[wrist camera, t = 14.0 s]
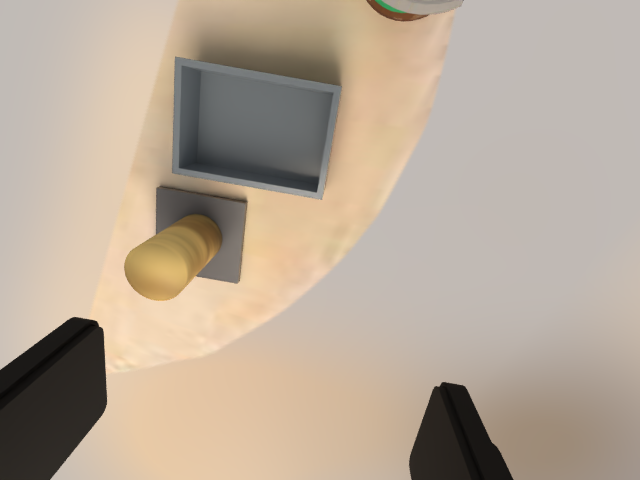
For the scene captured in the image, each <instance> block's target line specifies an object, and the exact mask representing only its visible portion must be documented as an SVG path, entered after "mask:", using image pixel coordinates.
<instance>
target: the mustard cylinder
mask: <svg viewBox="0 0 640 480" xmlns="http://www.w3.org/2000/svg"><path fill="white" fill-rule="evenodd" d="M221 245H222V234H221V231H220V229H219V227H218V225H217V224H216V223H215V222H214V221H213V220H212V219H210V218H209V217H207V216H204V215H201V214H191V215H188V216H185V217H184V218H182V219H180V220H179V221H177V222H176V223H174V224H172V225H171V226H169V227H168V228H166V229H164V230H163V231H161V232H160V233H158V234H156V235H155V236H153V237H152V238H150V239H148V240H147V241H145V242H144V243H142V244H140V245H139V246H137V247H136V248H134V249H133V250H132V251H130V253H129V254H128V255H127V257H126V260H125V265H124V269H125V275H126V278H127V280H128V282H129V283H130V285H131V286H132V287H133V289H134V290H135V291H137V292H138V293H139V294H141V295H142V296H144V297H146V298H148V299H151V300H156V301H165V300H170V299H172V298H174V297H176V296H177V295H178V294H179V293H180V292H181V291H182V290H183V289H184V288H185V287H186V286H187V285H188V284H189V283H190V282H191V280H192V279H193V278H194V277H195V276H196V275H197V274H198V273H199V272H200V271H201V270H202V269H203V268H204V267H205V265H206V264H207V263H208V262H209V261H210V260H211V259H212V258H213V257H214V256H215V255H216V254H217V253H218V251H219V250H220V248H221Z"/></svg>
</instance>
